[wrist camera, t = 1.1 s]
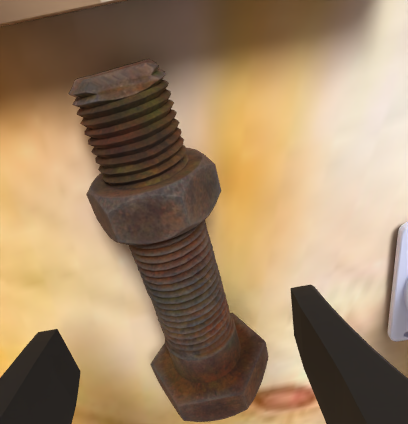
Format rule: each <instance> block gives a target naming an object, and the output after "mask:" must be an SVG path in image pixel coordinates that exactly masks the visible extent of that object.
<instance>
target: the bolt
mask: <svg viewBox="0 0 408 424" xmlns="http://www.w3.org/2000/svg"><path fill="white" fill-rule="evenodd" d="M165 75H166V73H165V72H164V71H162V70H160V69H158V65H157V63H156V62H154V61H152V60H150V59H146V60H142V61H140V62H136V63H133V64H129V65H125V66H122V67H118V68H115V69H111V70H108V71H104V72H101V73H98V74H94V75H91V76H86V77H82V78H77V79H76V80H75V81H74V84H73V87H72V89H71V90H70V92H69V95H72V96H74V97H77V98H76V99H75V101H74V103H73V105H75V106H77V107H80V109H79V110H78V112H77V115H79V116H81V117H83V118H84V119H83V120H82V122H81V123H80V124H82V125H84V126H86V127H87V129H86V131H85V135H87V136H90V137H91V138H90V139H89V141H88V142H89V144H90V145H92V146H94V148H93V150H92V153H93V154H95V155H97V157H96V163H98V164H101V165H100V167H99V169H98V170H99V171H100V172H101V174H100V175H99V176H97V177H96V179H95V180H94V181H93V182H92V184H91V186H90V188H89V190H88V192H87V194H86V195H87V197H88V199H89V202H90V204H91V206H92V209H93V211H94V213H95V215H96V218H97V220H98V221H99V223H100V224H101V226H102V227H103V229H104V230H105V231H106V233H107V234H108V235H109V237H110V238H111V239H113V240H114V241H116V242H119V243H122V244H128V245H129V247H130V249H131V251H132V255H133V257H134V259H135V262H136V264H137V266H138V270H139V271H140V274H141V277H142V278H143V282H144V284H145V287H146V290H147V292H148V294H149V296H150V298H151V300H152V302H153V305H154V308H155V310H156V315H157V316H158V320H159V322H160V325H161V328H162V330H163V333H164V335H165V344H164V345H163V347H162V348H161V350H160V351H159V352H158V354H157V355H156V357H155V358H154V360H153V361H152V363H151V366H152V369H153V371H154V373H155V375H156V377H157V379H158V381H159V383H160V385H161V386H162V388H163V390H164V392H165V393H166V395H167V396H168V398H169V400H170V401H171V403H172V404H173V406H174V408H175V409H176V411H177V412H178V414H179V415H180V416H181V418H182V419H183V420H184V421H194V422H205V421H215V420H220V419H225V418H228V417H231V416H234V415H236V414H238V413H240V412H242V411H244V410H247V409H248V407H249V406H250V404H251V403H252V402H253V400H254V398H255V396H256V394H257V392H258V389H259V387H260V385H261V382H262V380H263V376H264V373H265V369H266V365H267V361H268V352H267V347H266V342H265V341H264V340H263V339H262V338H261V337H260V336H258V335H257V334H256V333H255V332H254V331H253V330H252V329H250V328H249V327H248V326H247V325H246V324H245V323H244V322H243V321H241V320H240V319H239V318H238V317H237V316H236V315H235V314H233V313H231V314H230V312H229V307H228V304H227V300H226V295H225V293H224V290H223V285H222V281H221V276H220V273H219V270H218V265H217V263H216V260H215V256H214V251H213V247H212V244H211V241H210V238H209V235H208V231H207V227H206V223H205V219H206V218H207V217H208V216H209V214H210V213H211V211H212V210H213V208H214V206H215V204H216V202H217V199H218V197H219V194H220V192H221V188H220V183H219V179H218V175H217V171H216V166H215V164H214V163H213V162H212V161H211V160H210V159H209V158H207V157H206V156H205V155H204V154H202V153H201V152H199V151H198V150H195V149H191V148H185V146H184V145H183V141H184V139H183V138H182V137H181V136H180V135H181V130H180V129H179V128H177V126H178V124H179V121H178V120H176V119H174V117H175V115H176V112H175V111H174V110H171V108H172V106H173V104H174V102H173V101H171V100H168V98H169V97H170V95H171V93H170V91H168V90H166V87H167V86H168V84H169V83H168V82H167V81H165V80H162V79H163V77H164V76H165Z"/></svg>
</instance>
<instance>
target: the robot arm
mask: <svg viewBox="0 0 408 424" xmlns="http://www.w3.org/2000/svg"><path fill="white" fill-rule="evenodd" d="M291 299H292V312H293V325H294V336H295V339H296V343H297V346H298V350H299V353H300V357H301V360H302V363H303V367H304V369H305V372H306V374H307V377H308V379H309V382H310V384H311V387H312V389H313V392H314V394H315V396H316V399H317V401H318V404H319V406H320V409H321V411H322V413H323V416H324V418H325V421H326V423H327V424H408V378H407V377H405V376H404V375H403V374H402V373H401V372H399V371H398V370H397V369H396V368H395V367H394V366H392V365H391V364H390V363H389V362H388V361H387V360H386V359H384V358H383V357H382V356H381V355H380V354H379V353H378V352H376V351H375V350H374V349H373V348H372V347H371V346H370V345H369V344H368V343H367V342H366V341H365V340H364V339H363V338H362V337H361V336H360V335H359V334H357V333H356V332H355V331H354V330H353V329H352V328H351V327H350V326H349V325H348V324H347V323H346V322H345V321H344V320H343V319H342V317H341V316H340V315H339V314H338V313H337V312H336V311H335V310H334V309H333V308H332V307H331V306H330V304H329V303H328V302H327V301H326V300H325V299H324V298H323V297H322V295H321V294H320V293H319V292H318V291H317V289H316V288H315V287H314V286H312V285H306V286H300V287H295V288H291ZM387 333H388V336H389V337H390V339H391V340H393V341H403V340H408V222H406V223H404V224H403V225H402V226H401V227H400V228H399V231H398V238H397V247H396V257H395V266H394V275H393V285H392V294H391V303H390V313H389V322H388V331H387ZM79 379H80V370H79V368H78V366H77V364H76V362H75V361H74V359H73V357H72V355H71V353H70V351H69V350H68V348H67V346H66V344H65V342H64V340H63V339H62V337H61V335H60V333H59V331H58V329H54V330H49V331H43V332H38V333H37V334H36V335H35V337H34V338H33V339H32V340H31V341H30V342H29V344H28V345H27V346H26V347H25V348H24V350H23V351H22V352H21V353H20V355H19V356H18V357H17V358H16V359H15V361H14V362H13V363H12V364H11V366H10V367H9V368H8V369H7V370H6V372H5V373H4V374H3V375H2V376H1V378H0V424H71V423H72V419H73V415H74V411H75V407H76V401H77V395H78V387H79Z"/></svg>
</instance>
